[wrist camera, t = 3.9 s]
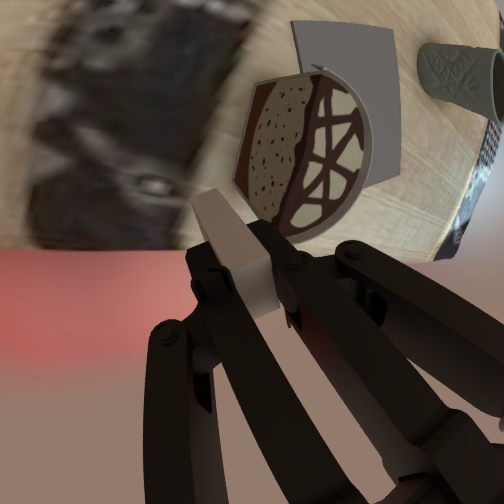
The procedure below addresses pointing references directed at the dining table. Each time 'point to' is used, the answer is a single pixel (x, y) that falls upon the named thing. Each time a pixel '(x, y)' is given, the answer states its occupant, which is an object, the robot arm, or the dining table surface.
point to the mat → (360, 79)
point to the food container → (304, 152)
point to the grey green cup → (464, 77)
